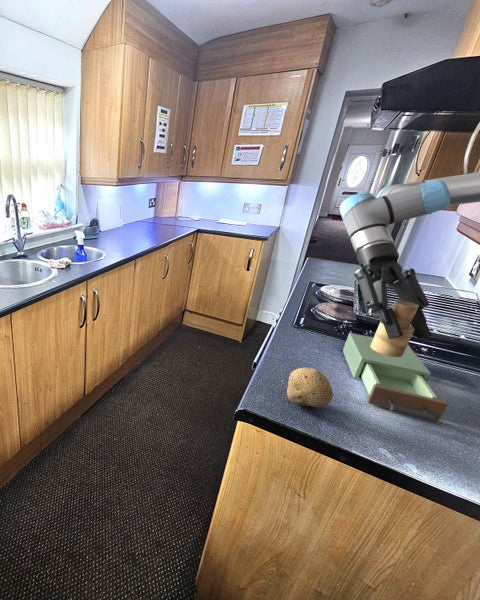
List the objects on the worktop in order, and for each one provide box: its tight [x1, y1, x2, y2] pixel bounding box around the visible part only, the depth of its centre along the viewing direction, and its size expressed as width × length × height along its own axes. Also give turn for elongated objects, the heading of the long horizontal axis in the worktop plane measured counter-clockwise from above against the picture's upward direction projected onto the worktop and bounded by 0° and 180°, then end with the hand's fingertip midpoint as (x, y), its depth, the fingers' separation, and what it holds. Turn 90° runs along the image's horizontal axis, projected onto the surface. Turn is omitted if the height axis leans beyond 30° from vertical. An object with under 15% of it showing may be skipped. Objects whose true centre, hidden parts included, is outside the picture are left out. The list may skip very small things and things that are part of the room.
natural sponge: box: [286, 367, 334, 408], centre depth 78 cm, size 9×9×10 cm
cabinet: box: [342, 332, 432, 383], centre depth 92 cm, size 17×14×7 cm
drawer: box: [360, 362, 449, 423], centre depth 80 cm, size 20×13×5 cm, turn 152°
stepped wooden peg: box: [370, 299, 419, 357], centre depth 77 cm, size 6×6×12 cm
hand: (409, 336), depth 74 cm, fingers closed on stepped wooden peg, 6 cm apart
